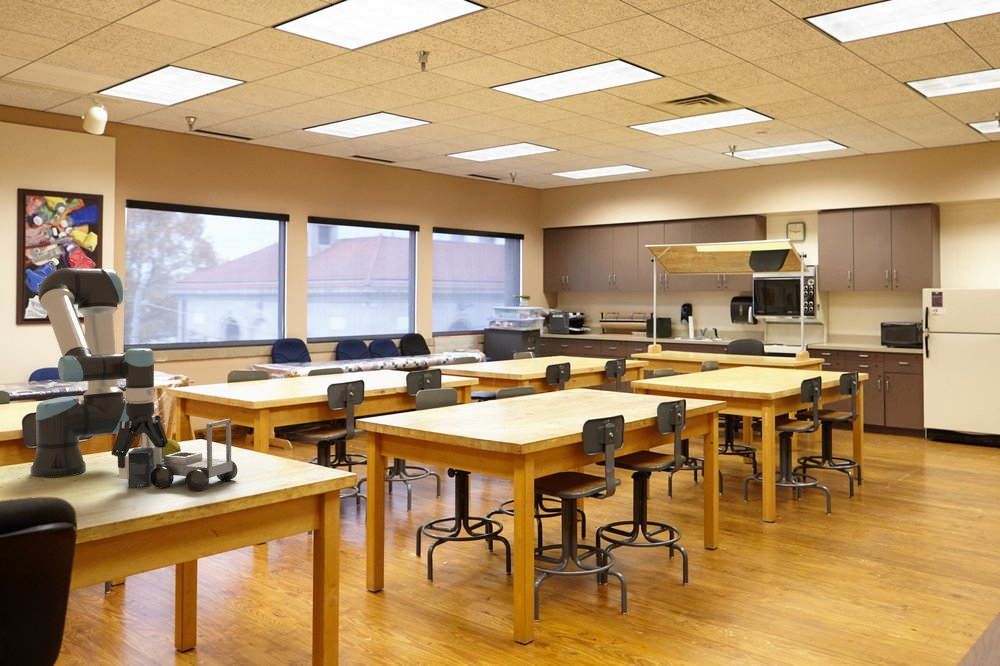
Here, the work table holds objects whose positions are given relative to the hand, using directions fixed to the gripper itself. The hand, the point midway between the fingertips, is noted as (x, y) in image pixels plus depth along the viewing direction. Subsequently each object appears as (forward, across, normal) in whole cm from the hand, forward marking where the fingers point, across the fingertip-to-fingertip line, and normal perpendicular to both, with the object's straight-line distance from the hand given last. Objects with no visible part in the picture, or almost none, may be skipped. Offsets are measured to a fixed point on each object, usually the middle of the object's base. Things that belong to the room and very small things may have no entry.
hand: (141, 474), depth 236 cm
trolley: (+3, +6, -14) cm, 15 cm away
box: (+4, 0, 0) cm, 4 cm away
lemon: (+4, +30, +15) cm, 34 cm away
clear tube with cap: (+2, +15, +10) cm, 18 cm away
